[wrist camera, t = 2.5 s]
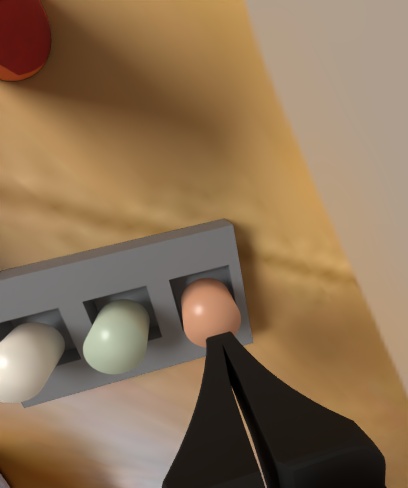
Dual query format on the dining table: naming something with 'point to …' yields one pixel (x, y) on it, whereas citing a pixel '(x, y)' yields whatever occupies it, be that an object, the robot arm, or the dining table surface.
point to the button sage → (118, 337)
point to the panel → (122, 287)
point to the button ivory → (28, 360)
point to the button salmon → (208, 310)
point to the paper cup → (23, 39)
